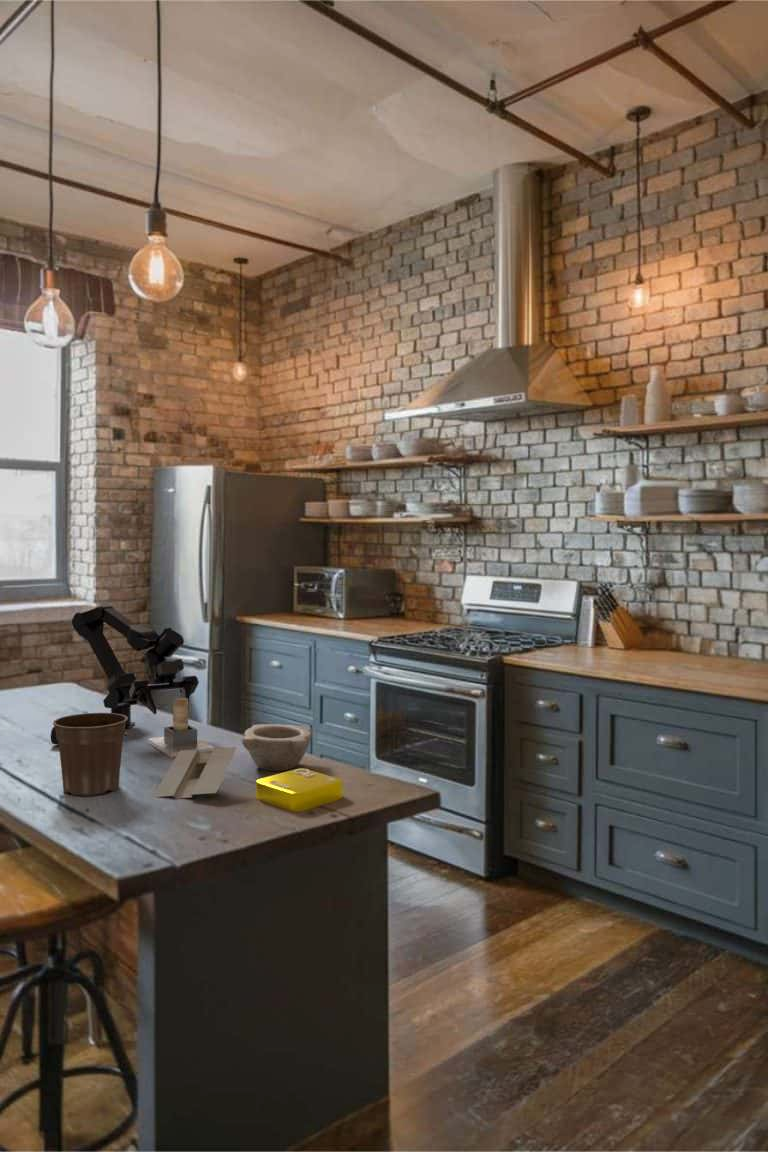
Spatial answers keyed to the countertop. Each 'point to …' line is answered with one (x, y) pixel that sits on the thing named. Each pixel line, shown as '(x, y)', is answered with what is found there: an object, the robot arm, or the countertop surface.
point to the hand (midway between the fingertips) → (171, 711)
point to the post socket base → (180, 742)
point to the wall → (195, 773)
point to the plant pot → (90, 751)
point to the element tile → (299, 789)
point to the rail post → (180, 714)
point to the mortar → (277, 745)
